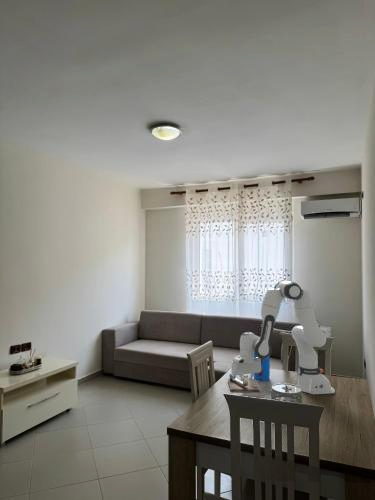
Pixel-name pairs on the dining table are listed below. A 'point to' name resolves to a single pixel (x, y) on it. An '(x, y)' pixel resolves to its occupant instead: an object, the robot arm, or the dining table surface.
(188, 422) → the dining table surface
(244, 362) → the robot arm
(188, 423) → the dining table surface
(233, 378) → the lever
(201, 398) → the dining table surface
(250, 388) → the press base
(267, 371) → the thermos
